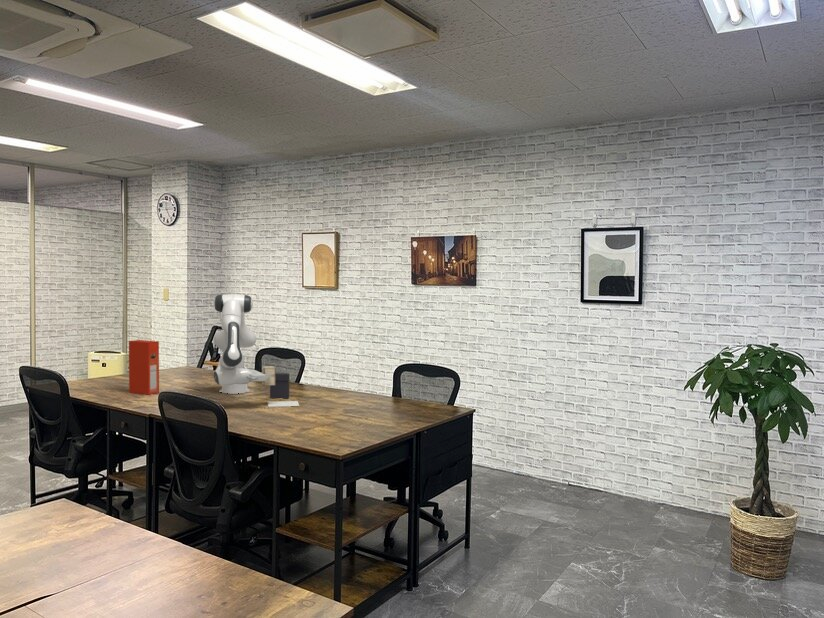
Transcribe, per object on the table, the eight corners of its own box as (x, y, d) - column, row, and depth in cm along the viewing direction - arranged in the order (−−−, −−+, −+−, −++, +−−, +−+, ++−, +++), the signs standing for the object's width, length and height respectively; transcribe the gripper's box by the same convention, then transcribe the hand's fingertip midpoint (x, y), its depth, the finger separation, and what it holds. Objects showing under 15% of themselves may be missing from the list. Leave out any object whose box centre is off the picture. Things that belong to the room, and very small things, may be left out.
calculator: (289, 397, 384) (289, 373, 384) (287, 399, 380) (287, 374, 379) (271, 397, 385) (272, 372, 385) (269, 398, 381) (269, 373, 380)
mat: (267, 402, 368) (267, 401, 368) (297, 401, 372) (297, 400, 372) (268, 407, 355) (268, 406, 355) (299, 406, 359) (299, 405, 359)
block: (262, 384, 362) (262, 366, 362) (272, 383, 365) (272, 366, 365) (264, 385, 358) (265, 367, 357) (275, 385, 361) (275, 367, 360)
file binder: (148, 395, 384) (148, 342, 382) (128, 392, 392) (128, 340, 390) (159, 393, 391) (159, 341, 389) (139, 390, 399) (139, 339, 397)
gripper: (249, 373, 345) (274, 371, 352) (239, 368, 363) (263, 367, 370) (249, 384, 345) (274, 383, 352) (239, 379, 363) (263, 378, 370)
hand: (268, 374), depth 361 cm, fingers closed on block, 5 cm apart
